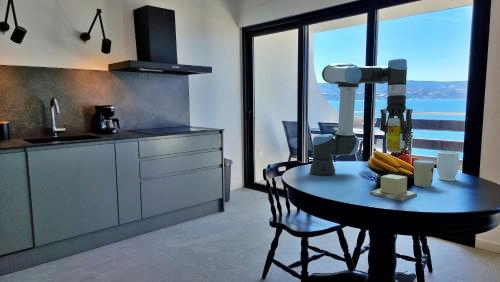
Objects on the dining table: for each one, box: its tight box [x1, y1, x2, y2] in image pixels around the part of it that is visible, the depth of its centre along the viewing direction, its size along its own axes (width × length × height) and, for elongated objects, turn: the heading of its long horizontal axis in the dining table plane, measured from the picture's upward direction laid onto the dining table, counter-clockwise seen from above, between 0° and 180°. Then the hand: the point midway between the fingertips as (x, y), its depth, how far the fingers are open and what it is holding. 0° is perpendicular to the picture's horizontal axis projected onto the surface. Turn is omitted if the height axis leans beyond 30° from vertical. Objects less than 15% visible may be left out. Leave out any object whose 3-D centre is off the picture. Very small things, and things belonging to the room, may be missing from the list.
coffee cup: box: [413, 159, 435, 188], centre depth 167 cm, size 9×9×12 cm
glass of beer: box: [386, 117, 403, 153], centre depth 147 cm, size 6×6×15 cm
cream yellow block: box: [380, 174, 408, 195], centre depth 149 cm, size 8×8×7 cm
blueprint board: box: [370, 187, 418, 202], centre depth 149 cm, size 15×13×1 cm
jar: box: [435, 150, 460, 182], centre depth 178 cm, size 11×10×15 cm
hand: (394, 147), depth 147 cm, fingers closed on glass of beer, 6 cm apart
